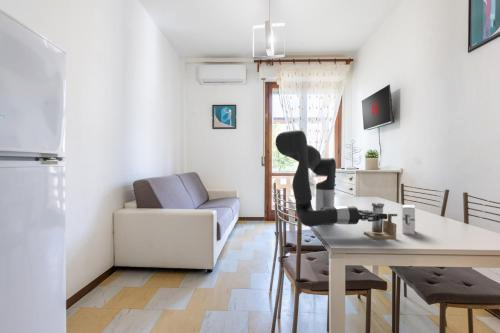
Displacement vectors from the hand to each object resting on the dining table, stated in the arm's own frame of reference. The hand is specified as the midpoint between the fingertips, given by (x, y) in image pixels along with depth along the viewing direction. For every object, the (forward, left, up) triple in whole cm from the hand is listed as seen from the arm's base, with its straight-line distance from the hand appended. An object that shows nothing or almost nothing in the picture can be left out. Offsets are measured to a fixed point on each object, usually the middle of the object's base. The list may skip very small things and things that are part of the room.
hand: (383, 215), depth 121 cm
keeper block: (0, 0, -9) cm, 9 cm away
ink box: (-6, +15, -9) cm, 19 cm away
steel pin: (0, -3, -7) cm, 8 cm away
